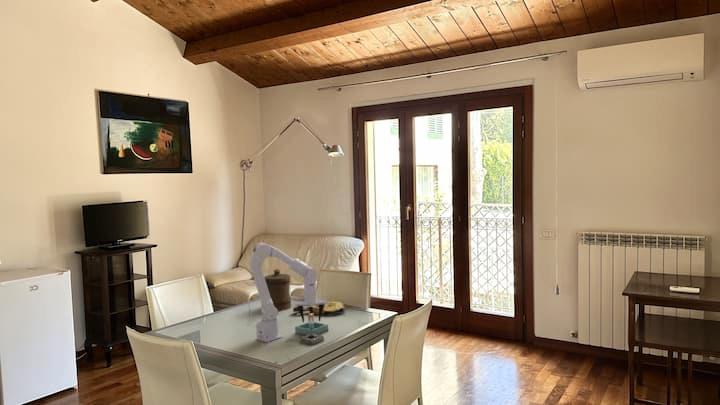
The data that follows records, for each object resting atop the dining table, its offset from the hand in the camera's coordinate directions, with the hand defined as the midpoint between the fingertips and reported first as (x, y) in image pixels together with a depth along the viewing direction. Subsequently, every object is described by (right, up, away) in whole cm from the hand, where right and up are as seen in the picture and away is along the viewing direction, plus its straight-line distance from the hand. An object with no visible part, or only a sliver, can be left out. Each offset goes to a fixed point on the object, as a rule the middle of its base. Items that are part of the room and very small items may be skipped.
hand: (311, 321), depth 233 cm
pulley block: (+2, -4, +34) cm, 34 cm away
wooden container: (-24, -4, +48) cm, 54 cm away
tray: (0, -5, 0) cm, 5 cm away
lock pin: (0, -5, 0) cm, 5 cm away
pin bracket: (+2, -6, -14) cm, 15 cm away
